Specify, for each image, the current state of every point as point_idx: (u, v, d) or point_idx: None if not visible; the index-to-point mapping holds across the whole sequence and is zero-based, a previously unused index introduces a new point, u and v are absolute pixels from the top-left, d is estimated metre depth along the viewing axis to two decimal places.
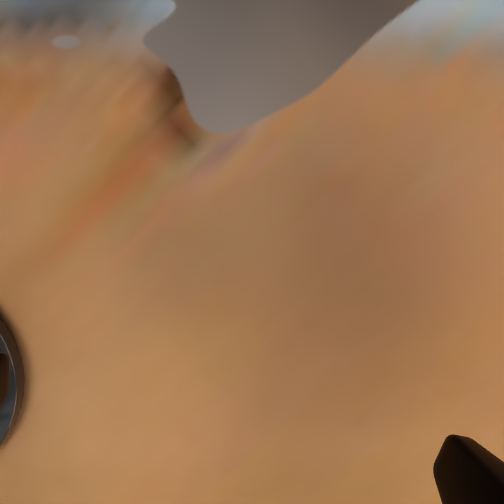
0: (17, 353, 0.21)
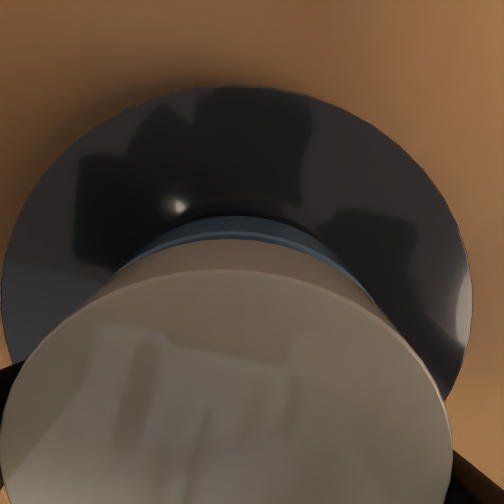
0: None
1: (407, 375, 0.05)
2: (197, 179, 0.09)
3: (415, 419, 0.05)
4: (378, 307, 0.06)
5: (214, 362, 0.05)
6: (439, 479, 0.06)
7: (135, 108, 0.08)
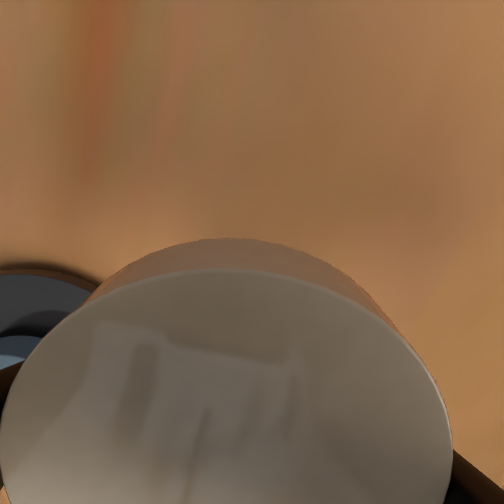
0: None
1: (407, 374, 0.05)
2: (5, 314, 0.17)
3: (415, 418, 0.05)
4: (378, 306, 0.06)
5: (214, 361, 0.05)
6: (439, 478, 0.06)
7: None
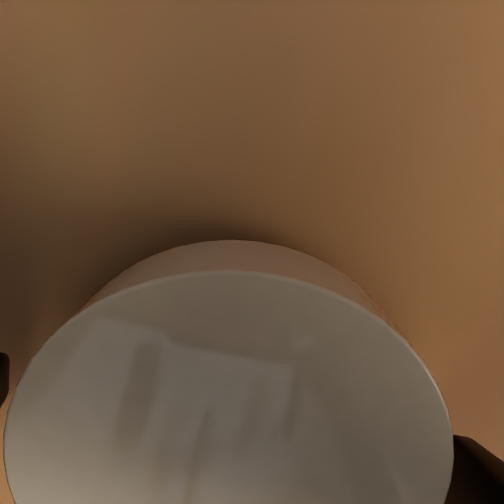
0: None
1: (408, 375, 0.05)
2: None
3: (416, 419, 0.05)
4: (379, 308, 0.06)
5: (217, 362, 0.05)
6: (440, 478, 0.06)
7: None
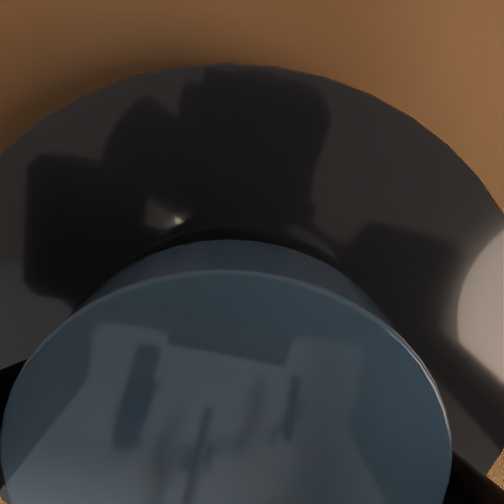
0: None
1: None
2: (179, 190, 0.07)
3: None
4: None
5: None
6: None
7: (94, 95, 0.06)
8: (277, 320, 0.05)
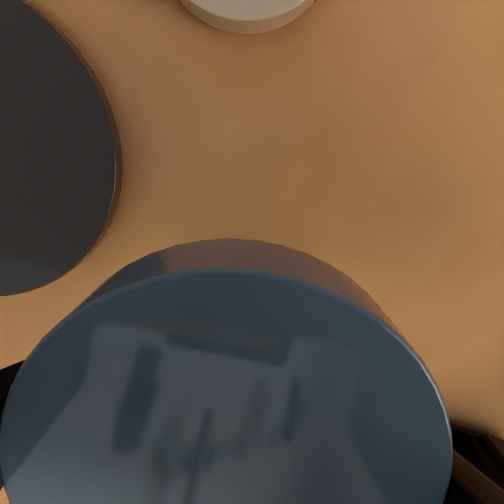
0: None
1: None
2: None
3: None
4: None
5: None
6: None
7: None
8: (277, 319, 0.05)
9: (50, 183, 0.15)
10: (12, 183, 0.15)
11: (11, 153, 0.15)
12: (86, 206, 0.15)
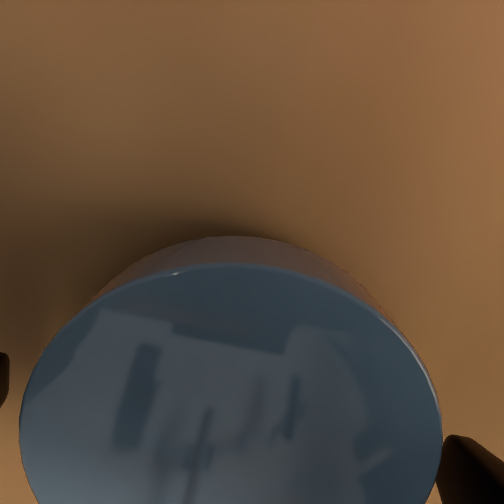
0: None
1: None
2: None
3: None
4: None
5: None
6: None
7: None
8: (279, 309, 0.05)
9: None
10: None
11: None
12: None
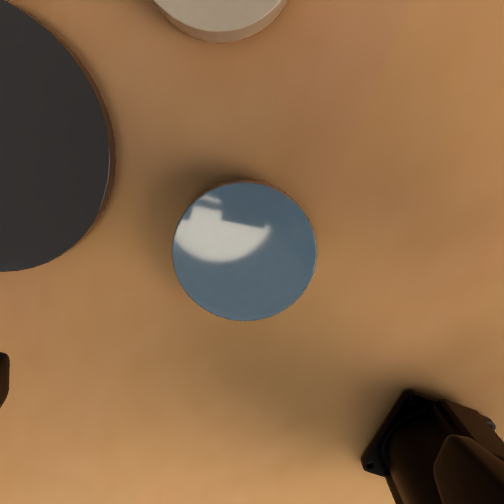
0: (59, 38, 0.16)
1: None
2: None
3: None
4: None
5: None
6: None
7: None
8: (259, 198, 0.17)
9: (53, 171, 0.17)
10: (20, 171, 0.17)
11: (20, 145, 0.17)
12: (84, 191, 0.18)
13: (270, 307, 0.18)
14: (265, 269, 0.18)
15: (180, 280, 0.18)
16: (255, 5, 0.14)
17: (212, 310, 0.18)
